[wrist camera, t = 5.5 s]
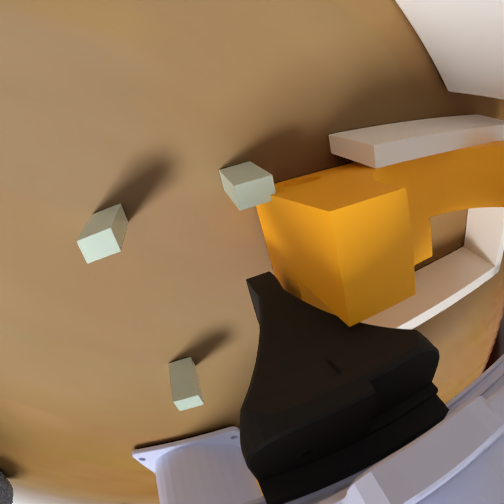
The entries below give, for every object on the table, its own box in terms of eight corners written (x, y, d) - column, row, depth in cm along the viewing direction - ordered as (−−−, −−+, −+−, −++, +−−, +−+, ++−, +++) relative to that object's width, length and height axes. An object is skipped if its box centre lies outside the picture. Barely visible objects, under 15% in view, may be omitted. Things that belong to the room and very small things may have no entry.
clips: (287, 334, 16) (306, 368, 13) (265, 342, 15) (282, 377, 13) (249, 161, 11) (272, 174, 9) (218, 169, 11) (233, 186, 9)
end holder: (468, 252, 18) (498, 272, 15) (345, 314, 16) (374, 349, 14) (476, 114, 13) (515, 123, 10) (328, 134, 11) (373, 145, 9)
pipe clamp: (278, 290, 13) (355, 382, 7) (251, 190, 12) (329, 211, 6) (464, 214, 15) (554, 239, 9) (455, 140, 13) (552, 144, 7)
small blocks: (195, 366, 15) (203, 404, 13) (174, 372, 15) (180, 410, 12) (120, 203, 10) (110, 227, 8) (92, 214, 10) (76, 241, 8)
